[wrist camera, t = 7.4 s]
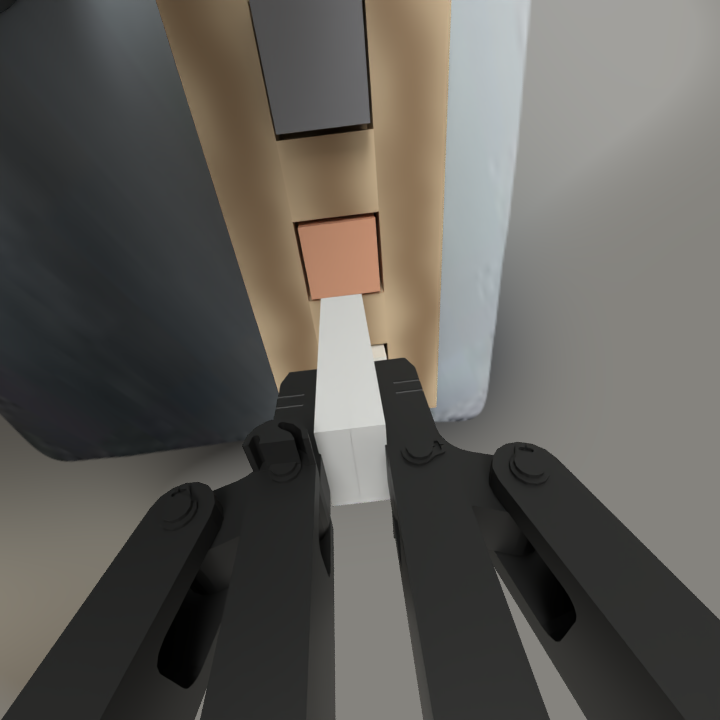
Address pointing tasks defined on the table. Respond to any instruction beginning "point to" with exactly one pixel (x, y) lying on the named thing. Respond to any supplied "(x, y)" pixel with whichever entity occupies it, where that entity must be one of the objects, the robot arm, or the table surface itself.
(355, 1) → the charcoal key
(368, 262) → the salmon orange block
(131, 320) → the table surface
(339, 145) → the key console
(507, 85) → the table surface
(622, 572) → the robot arm
